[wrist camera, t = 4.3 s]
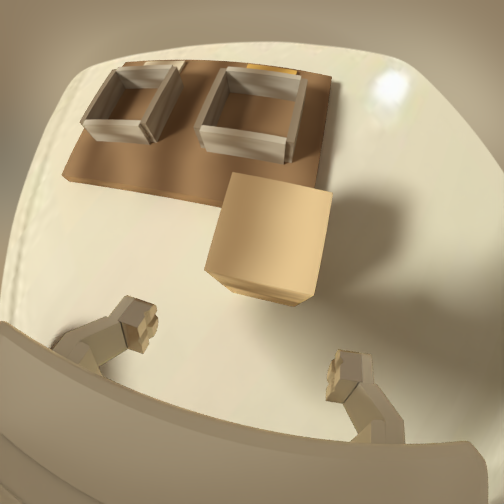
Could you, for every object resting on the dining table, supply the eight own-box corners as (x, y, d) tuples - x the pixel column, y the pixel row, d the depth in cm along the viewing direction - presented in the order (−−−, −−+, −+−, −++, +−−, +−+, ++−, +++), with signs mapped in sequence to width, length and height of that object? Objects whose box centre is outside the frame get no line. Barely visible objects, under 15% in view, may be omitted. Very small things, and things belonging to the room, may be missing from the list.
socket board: (329, 86, 27) (336, 55, 22) (306, 225, 23) (314, 204, 19) (129, 70, 29) (116, 45, 25) (69, 181, 26) (44, 161, 22)
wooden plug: (307, 246, 23) (332, 192, 13) (294, 306, 22) (313, 295, 12) (247, 232, 24) (232, 172, 14) (232, 292, 22) (204, 269, 13)
